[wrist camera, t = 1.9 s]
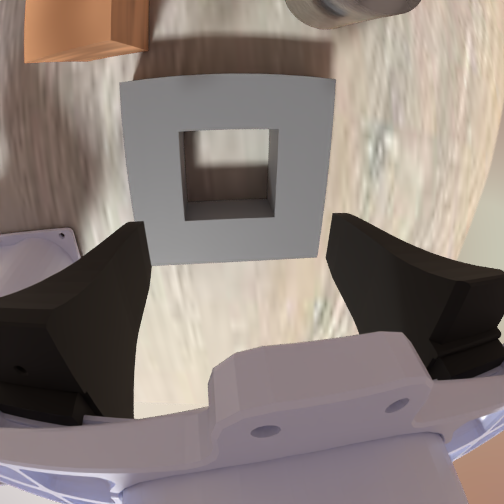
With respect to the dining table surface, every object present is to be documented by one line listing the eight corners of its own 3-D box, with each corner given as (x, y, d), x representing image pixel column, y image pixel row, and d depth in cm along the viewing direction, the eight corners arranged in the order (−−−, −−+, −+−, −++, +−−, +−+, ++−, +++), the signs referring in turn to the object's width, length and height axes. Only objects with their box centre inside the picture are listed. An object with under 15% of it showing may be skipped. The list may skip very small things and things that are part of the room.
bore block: (149, 243, 23) (143, 266, 21) (132, 80, 17) (119, 82, 14) (306, 236, 25) (317, 257, 22) (319, 77, 18) (335, 79, 16)
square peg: (87, 61, 15) (24, 63, 9) (87, 5, 13) (27, -19, 7) (148, 50, 16) (110, 40, 9) (149, -7, 14) (114, -47, 7)
